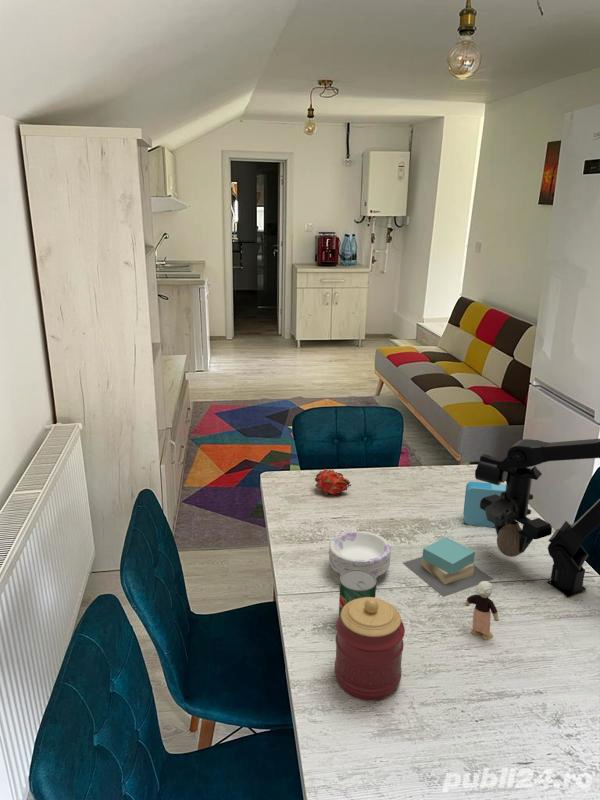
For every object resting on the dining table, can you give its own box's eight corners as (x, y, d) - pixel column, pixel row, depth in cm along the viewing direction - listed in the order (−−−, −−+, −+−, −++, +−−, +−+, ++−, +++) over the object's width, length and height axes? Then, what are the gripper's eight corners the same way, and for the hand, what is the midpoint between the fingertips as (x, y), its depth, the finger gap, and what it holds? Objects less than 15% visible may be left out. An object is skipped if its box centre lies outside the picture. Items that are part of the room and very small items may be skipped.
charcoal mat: (493, 580, 150) (493, 579, 150) (443, 598, 143) (443, 596, 143) (450, 549, 164) (450, 548, 163) (402, 564, 156) (402, 562, 156)
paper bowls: (345, 550, 163) (346, 523, 160) (398, 567, 155) (400, 539, 153) (317, 578, 150) (318, 550, 148) (373, 598, 143) (375, 568, 140)
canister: (358, 645, 127) (362, 572, 122) (413, 674, 120) (419, 597, 114) (320, 680, 118) (323, 602, 112) (377, 714, 110) (382, 632, 105)
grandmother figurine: (499, 633, 131) (505, 583, 127) (494, 644, 128) (501, 592, 124) (464, 621, 135) (469, 572, 131) (459, 631, 132) (464, 581, 128)
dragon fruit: (312, 493, 199) (347, 503, 196) (308, 488, 191) (345, 498, 188) (319, 468, 201) (354, 478, 198) (316, 462, 193) (352, 472, 190)
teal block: (473, 562, 152) (475, 551, 151) (451, 574, 146) (452, 564, 145) (444, 547, 158) (445, 536, 157) (422, 558, 153) (423, 548, 152)
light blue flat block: (504, 521, 179) (509, 484, 175) (506, 529, 175) (511, 491, 171) (462, 517, 181) (466, 480, 178) (463, 524, 177) (467, 487, 173)
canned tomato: (332, 615, 137) (334, 572, 133) (364, 607, 139) (366, 566, 136) (347, 637, 130) (349, 593, 126) (380, 629, 132) (383, 585, 129)
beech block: (473, 575, 151) (474, 564, 150) (444, 584, 147) (446, 574, 146) (448, 557, 159) (449, 547, 158) (421, 566, 155) (422, 556, 154)
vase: (495, 557, 153) (499, 526, 150) (495, 543, 159) (499, 513, 156) (524, 562, 151) (528, 530, 148) (523, 548, 157) (527, 517, 155)
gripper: (466, 481, 154) (461, 536, 159) (523, 513, 138) (515, 572, 143) (499, 473, 159) (492, 526, 164) (557, 503, 143) (548, 560, 148)
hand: (510, 545), depth 154 cm, fingers closed on vase, 7 cm apart
